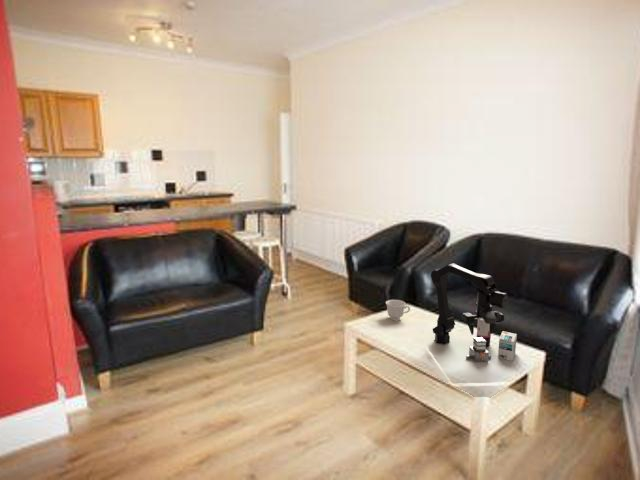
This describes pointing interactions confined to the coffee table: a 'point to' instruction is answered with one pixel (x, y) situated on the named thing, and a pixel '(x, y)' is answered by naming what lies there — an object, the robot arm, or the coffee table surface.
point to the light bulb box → (507, 345)
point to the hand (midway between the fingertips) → (481, 334)
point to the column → (479, 344)
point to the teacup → (396, 309)
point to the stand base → (478, 355)
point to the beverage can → (484, 331)
